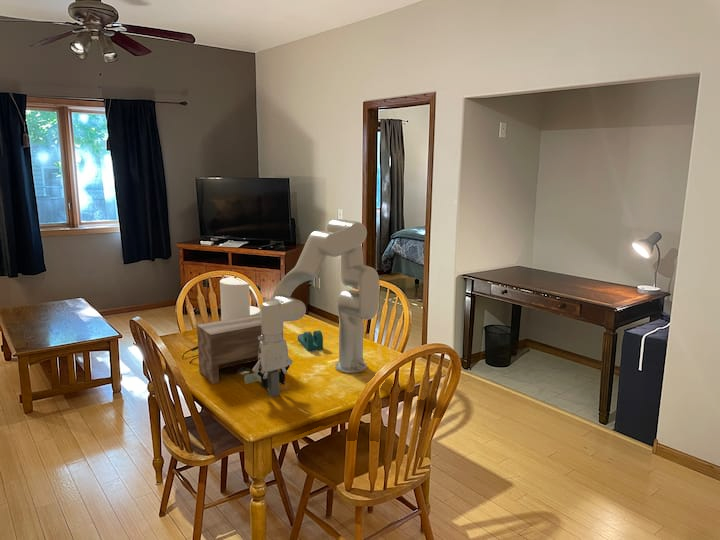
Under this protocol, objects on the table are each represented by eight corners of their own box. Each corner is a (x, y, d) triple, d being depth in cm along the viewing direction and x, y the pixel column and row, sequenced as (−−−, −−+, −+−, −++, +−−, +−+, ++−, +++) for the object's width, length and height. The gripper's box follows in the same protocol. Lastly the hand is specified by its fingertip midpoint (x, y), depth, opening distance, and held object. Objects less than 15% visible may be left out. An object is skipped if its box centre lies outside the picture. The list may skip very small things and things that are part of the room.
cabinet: (280, 367, 215) (279, 321, 211) (213, 383, 199) (210, 334, 195) (264, 356, 226) (263, 313, 222) (199, 371, 210) (196, 324, 206)
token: (252, 373, 210) (252, 370, 209) (240, 376, 207) (240, 373, 206) (246, 369, 214) (246, 366, 213) (235, 372, 211) (234, 369, 210)
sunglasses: (218, 357, 225) (216, 346, 224) (193, 368, 217) (191, 357, 216) (204, 351, 232) (203, 340, 231) (180, 361, 224) (177, 350, 223)
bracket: (323, 350, 235) (322, 332, 234) (308, 352, 233) (308, 334, 231) (309, 337, 251) (309, 321, 250) (295, 339, 249) (295, 322, 247)
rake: (285, 393, 192) (285, 369, 190) (265, 399, 187) (264, 374, 185) (264, 377, 205) (263, 355, 203) (244, 382, 200) (243, 359, 198)
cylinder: (232, 349, 234) (230, 286, 229) (215, 338, 247) (213, 279, 242) (268, 341, 245) (266, 281, 239) (249, 331, 258) (248, 274, 252)
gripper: (254, 344, 178) (255, 395, 182) (299, 335, 188) (300, 383, 192) (244, 338, 184) (246, 388, 188) (289, 329, 194) (289, 376, 198)
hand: (273, 385), depth 190 cm, fingers open, 5 cm apart
